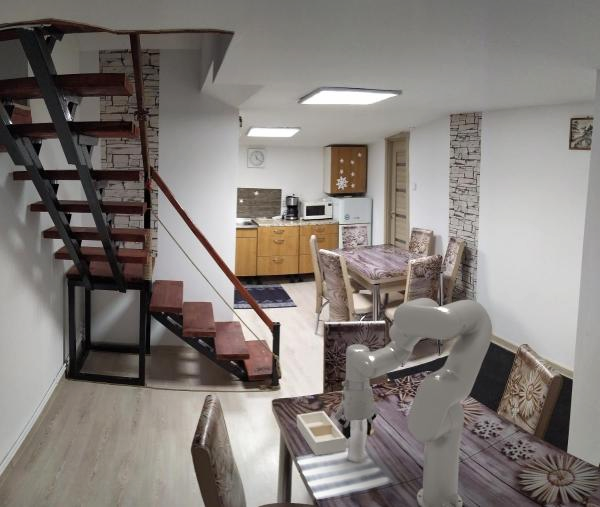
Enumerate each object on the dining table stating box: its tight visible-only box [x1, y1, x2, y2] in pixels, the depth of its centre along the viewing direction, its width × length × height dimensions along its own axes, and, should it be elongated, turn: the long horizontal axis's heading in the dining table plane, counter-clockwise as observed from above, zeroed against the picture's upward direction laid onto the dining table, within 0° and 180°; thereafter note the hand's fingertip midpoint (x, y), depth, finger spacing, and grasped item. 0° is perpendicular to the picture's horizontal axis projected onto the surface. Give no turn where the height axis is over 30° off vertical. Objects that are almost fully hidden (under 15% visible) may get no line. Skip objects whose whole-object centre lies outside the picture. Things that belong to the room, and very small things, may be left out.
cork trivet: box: [367, 424, 375, 437], centre depth 196 cm, size 10×10×1 cm
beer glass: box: [346, 418, 368, 464], centre depth 176 cm, size 7×7×15 cm
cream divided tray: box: [296, 410, 346, 456], centre depth 190 cm, size 21×10×5 cm, turn 18°
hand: (356, 434), depth 176 cm, fingers closed on beer glass, 6 cm apart
